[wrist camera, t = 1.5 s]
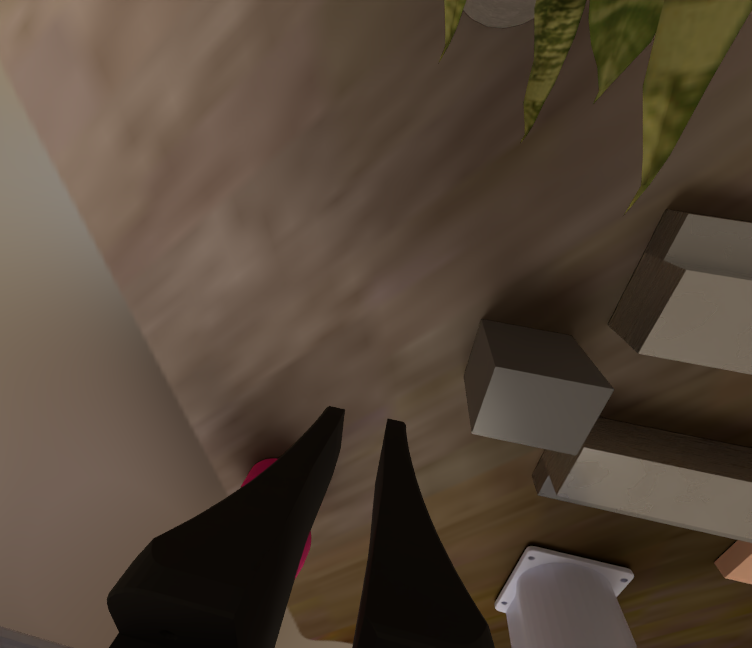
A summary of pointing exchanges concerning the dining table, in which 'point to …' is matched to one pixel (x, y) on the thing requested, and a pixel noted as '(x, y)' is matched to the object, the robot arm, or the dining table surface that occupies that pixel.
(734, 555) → the pad
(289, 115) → the dining table surface
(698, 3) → the house plant
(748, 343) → the parallel gray bars
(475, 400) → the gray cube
